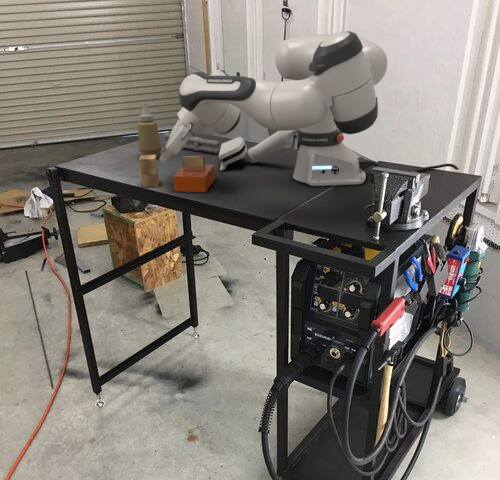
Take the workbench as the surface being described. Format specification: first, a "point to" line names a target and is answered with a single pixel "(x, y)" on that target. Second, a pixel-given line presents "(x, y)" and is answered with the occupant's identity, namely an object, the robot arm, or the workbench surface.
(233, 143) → the white rounded block
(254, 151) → the bottle
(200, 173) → the orange box
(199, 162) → the tan rectangular block
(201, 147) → the metal rod assembly
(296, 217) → the workbench surface
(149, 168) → the workpiece
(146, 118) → the squeeze bottle
